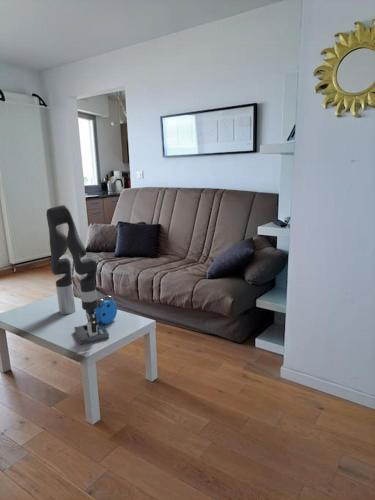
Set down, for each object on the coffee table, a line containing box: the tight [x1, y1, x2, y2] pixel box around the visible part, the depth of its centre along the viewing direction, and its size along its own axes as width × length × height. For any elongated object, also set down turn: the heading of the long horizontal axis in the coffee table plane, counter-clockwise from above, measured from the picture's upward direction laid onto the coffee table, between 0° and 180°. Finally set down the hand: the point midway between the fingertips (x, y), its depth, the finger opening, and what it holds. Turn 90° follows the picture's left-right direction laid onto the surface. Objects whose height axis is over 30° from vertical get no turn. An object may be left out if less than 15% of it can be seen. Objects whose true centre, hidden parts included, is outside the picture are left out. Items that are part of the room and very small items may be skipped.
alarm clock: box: [94, 294, 118, 325], centre depth 192 cm, size 13×6×15 cm, turn 148°
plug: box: [86, 321, 98, 337], centre depth 173 cm, size 4×4×9 cm
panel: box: [74, 322, 110, 346], centre depth 178 cm, size 17×14×3 cm
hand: (92, 329), depth 173 cm, fingers open, 8 cm apart
